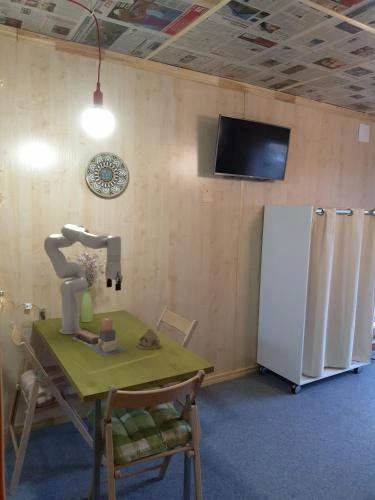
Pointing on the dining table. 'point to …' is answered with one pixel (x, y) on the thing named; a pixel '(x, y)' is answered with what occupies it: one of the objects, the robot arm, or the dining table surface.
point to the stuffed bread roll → (149, 340)
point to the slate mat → (102, 353)
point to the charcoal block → (107, 336)
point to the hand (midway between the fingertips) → (113, 288)
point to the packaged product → (86, 337)
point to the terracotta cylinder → (107, 324)
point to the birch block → (107, 345)
